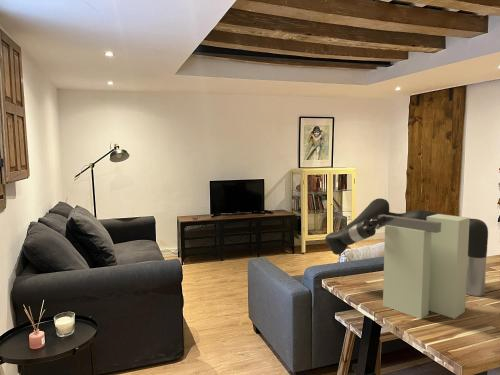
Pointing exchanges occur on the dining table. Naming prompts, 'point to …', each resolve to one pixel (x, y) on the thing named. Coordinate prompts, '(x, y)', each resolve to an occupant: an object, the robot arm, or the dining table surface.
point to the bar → (412, 223)
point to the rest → (407, 270)
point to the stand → (449, 265)
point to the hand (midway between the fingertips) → (391, 217)
